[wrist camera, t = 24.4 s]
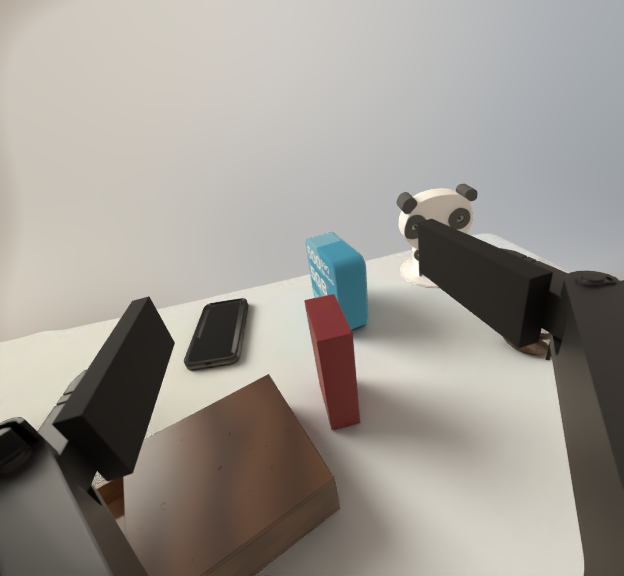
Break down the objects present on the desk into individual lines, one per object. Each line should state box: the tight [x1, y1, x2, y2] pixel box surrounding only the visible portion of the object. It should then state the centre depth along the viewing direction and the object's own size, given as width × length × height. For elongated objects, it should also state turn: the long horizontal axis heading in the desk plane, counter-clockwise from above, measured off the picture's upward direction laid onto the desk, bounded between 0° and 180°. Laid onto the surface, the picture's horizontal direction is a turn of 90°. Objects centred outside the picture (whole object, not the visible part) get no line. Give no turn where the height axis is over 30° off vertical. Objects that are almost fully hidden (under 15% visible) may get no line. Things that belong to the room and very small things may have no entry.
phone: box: [184, 298, 248, 370], centre depth 49 cm, size 8×1×15 cm
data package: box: [306, 232, 368, 330], centre depth 47 cm, size 12×4×12 cm, turn 20°
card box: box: [305, 294, 360, 430], centre depth 32 cm, size 6×3×13 cm, turn 11°
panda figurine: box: [397, 184, 477, 288], centre depth 52 cm, size 12×11×15 cm
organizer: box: [123, 374, 340, 576], centre depth 27 cm, size 15×13×5 cm
